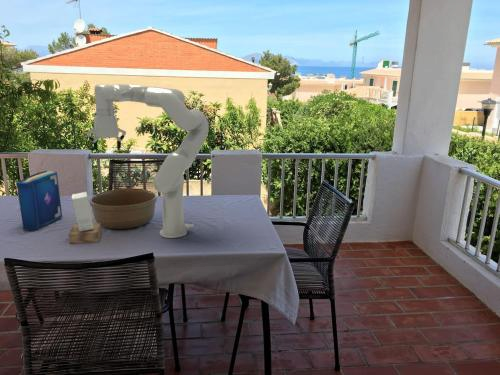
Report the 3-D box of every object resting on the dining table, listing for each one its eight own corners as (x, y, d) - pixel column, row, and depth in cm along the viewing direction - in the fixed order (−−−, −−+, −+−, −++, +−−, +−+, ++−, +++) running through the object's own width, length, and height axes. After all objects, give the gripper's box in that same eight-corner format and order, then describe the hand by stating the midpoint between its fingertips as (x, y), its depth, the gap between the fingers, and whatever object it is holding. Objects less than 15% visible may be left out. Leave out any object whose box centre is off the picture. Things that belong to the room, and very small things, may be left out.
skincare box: (94, 229, 182) (87, 196, 177) (78, 232, 180) (71, 199, 175) (93, 222, 190) (87, 191, 185) (78, 225, 187) (71, 193, 183)
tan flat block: (101, 233, 193) (100, 223, 192) (98, 242, 182) (98, 232, 181) (73, 235, 190) (72, 224, 189) (69, 245, 179) (68, 234, 178)
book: (33, 232, 190) (27, 180, 184) (20, 231, 192) (13, 179, 185) (63, 218, 211) (58, 170, 205) (51, 216, 212) (45, 169, 206)
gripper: (123, 111, 191) (125, 148, 196) (83, 112, 184) (87, 150, 188) (126, 113, 185) (128, 150, 189) (85, 113, 177) (88, 152, 182)
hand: (107, 150), depth 189 cm, fingers open, 9 cm apart
